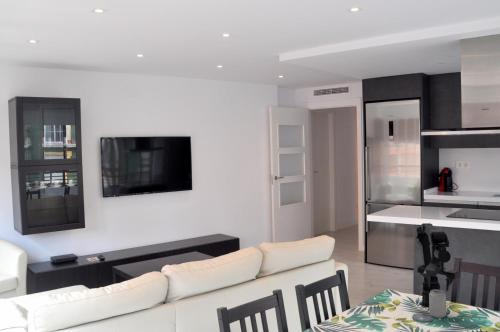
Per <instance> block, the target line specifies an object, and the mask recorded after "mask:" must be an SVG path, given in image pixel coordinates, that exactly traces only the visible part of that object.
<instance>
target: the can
mask: <svg viewBox="0 0 500 332" xmlns="http://www.w3.org/2000/svg"><path fill="white" fill-rule="evenodd" d="M445 292H446V291H444V290H442V289H440V290H431V292H430V293H429V307H428V308H429V309H428V311H429V315H431V316H432V317H433V318H437V319H442V318H445V317H446V315H447V295H446V293H445Z"/></svg>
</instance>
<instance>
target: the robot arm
mask: <svg viewBox="0 0 500 332" xmlns="http://www.w3.org/2000/svg"><path fill="white" fill-rule="evenodd" d="M414 239H416V243H417V244H418V245H419V247H420V251H421V253H420V254H421V259H422V264H421V265H418V266H417V267H416V268H417V269H416V272H417V273H418V274H419V275H420V276H422V279H421V283H420V285H419V293H420V294H421V296H422V297H421V298H422V300H421V302H422V303H420V306H423V307H427V308H429V293H430V292H431V290H441V285H440V282H439V279H438V278H439V277H438V276H437V275H442V276H445V277H446V278H445V281H446V286H445V290H446V291H445V292H446V293H448V292H449V290H450V289H451V286H452V284H453V282H454V280H457V279H458V278H460V275H461V273H460V271H458V270H453V269H450V270H446V267H445V263H449V261H450V260H451V258H452V257H451V253H450V252H449V250H447V248H449V247H450V241H449V238H448V235H447V233H446V232H445V231H444V230H438V229H437V228H436V227H435V226H433V224H432V223H430V222H429V223H421V225H420V226H419V227H417V228H416V229H415V232H414Z"/></svg>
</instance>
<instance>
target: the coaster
mask: <svg viewBox="0 0 500 332" xmlns="http://www.w3.org/2000/svg"><path fill="white" fill-rule="evenodd" d="M411 317H412V320H413V321H415V322H417V321H418V323H426V324H427V323H432V322H433V320H434V319H433V318H434V317H433V316H431V315H430V313H429V314H428V313H424V312H423V313H421V312H417V313H413V314H412V316H411Z"/></svg>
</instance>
